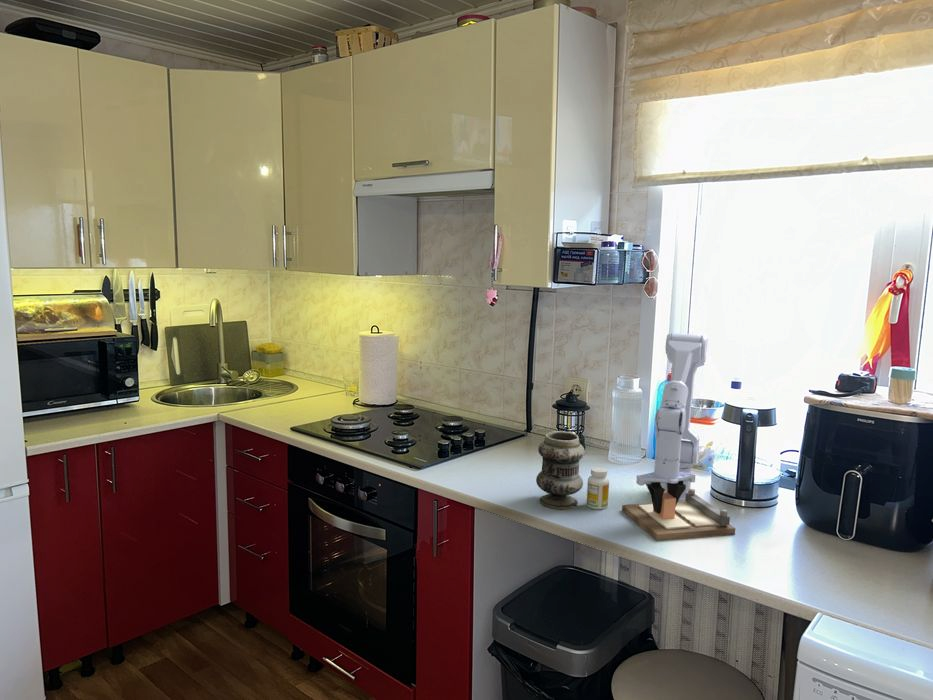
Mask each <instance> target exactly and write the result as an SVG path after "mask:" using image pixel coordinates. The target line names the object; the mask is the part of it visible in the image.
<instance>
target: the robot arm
mask: <svg viewBox="0 0 933 700" xmlns="http://www.w3.org/2000/svg"><path fill="white" fill-rule="evenodd" d="M664 348H665V354H666V357H667V360H668V362H669V363H670V364H672V365H671V374H670V380H669V382H667V383H666V384H665V385H664V386H663V391H662V398H661V401H660V407H659V408H657V409H656V412H655V416H654V429H655V432H654V437H655V439H656V441H655V455H654V468H653V469H654V470H653V472H648V473H644V474H638V475H636V480H635V481H636V484H637V485H639V486H641V487H642V486H644V485H645V486H646V488H647V490H648V491H649V495H650V498H651V503H653V509H654V511H655V512H656V513H658V514H659V513H660V512H661V504H662V497H663V494H664V491H666V492H667V493H669V494H670V495H671V496H673V497H674V498H676V505H677V502H678V501H685V497H686V493H688V489H691V487H692V485H691V484H692V483H696V474H695V473H693V472H692V471H693V466H696V465H697V464H698V461H699V456H700V438H699V435H698V434H697V433H695V432H694V431H693V430H692V429H691V427H690V426H691V416H692V406H693V396H694V395H693V394H694V385H695V384H694V383H695V375H696V372H697V369H698V368H699V367H702V366H705V363H706V360H707V351H708V350H707V349H708V337H707V335H706V334H693V333H692V334H691V333H678V332H671V331H669V333H668V334H667V335H666V339H665V347H664ZM675 507H676V506H675Z"/></svg>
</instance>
